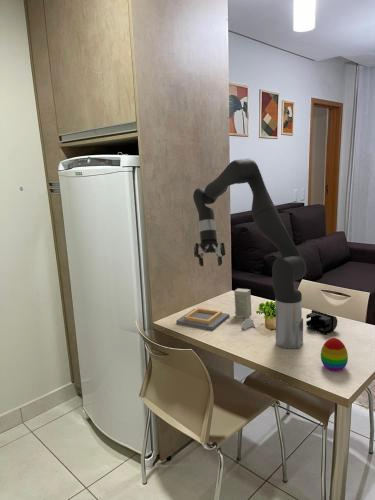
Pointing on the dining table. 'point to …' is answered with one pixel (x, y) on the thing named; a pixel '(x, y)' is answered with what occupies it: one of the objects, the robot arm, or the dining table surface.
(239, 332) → the dining table surface
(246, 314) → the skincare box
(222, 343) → the dining table surface
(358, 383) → the dining table surface
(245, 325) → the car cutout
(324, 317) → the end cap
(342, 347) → the decorative egg
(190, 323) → the grey wood framed tray
